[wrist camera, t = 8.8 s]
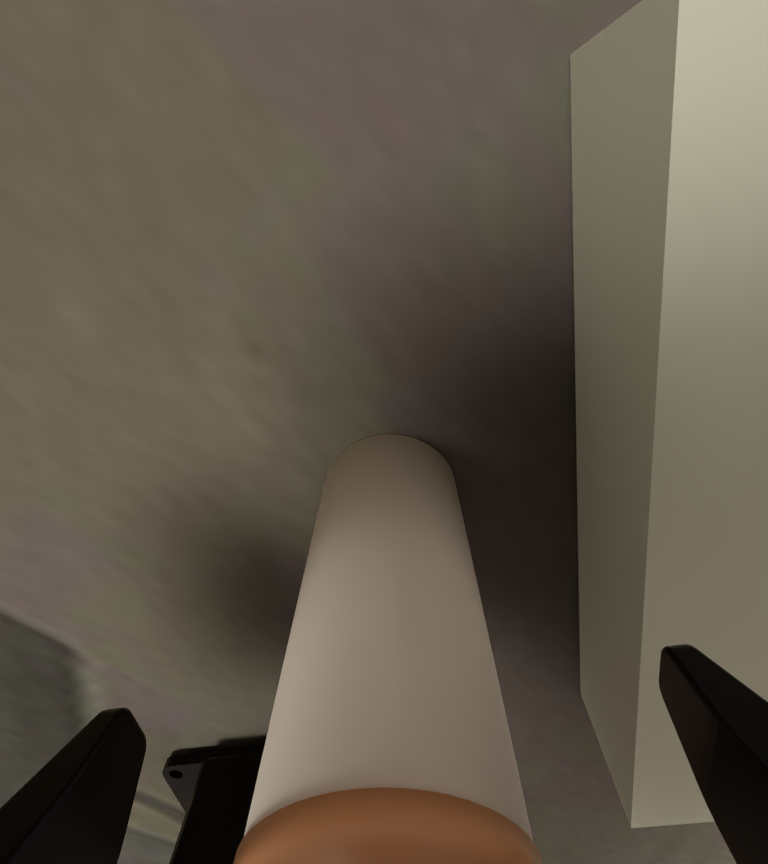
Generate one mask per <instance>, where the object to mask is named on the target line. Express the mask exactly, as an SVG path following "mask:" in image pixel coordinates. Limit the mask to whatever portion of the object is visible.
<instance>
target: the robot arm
mask: <svg viewBox="0 0 768 864" xmlns="http://www.w3.org/2000/svg"><path fill="white" fill-rule="evenodd" d="M659 688H660V692H661V695H662V698H663V700H664V703H665V705H666V708H667V710H668V713H669V715H670V718H671V720H672V722H673V725H674V727H675V730H676V732H677V735H678V737H679V740H680V742H681V744H682V747H683V749H684V752H685V754H686V757H687V759H688V762H689V764H690V767H691V769H692V771H693V774H694V776H695V779H696V781H697V784H698V786H699V788H700V791H701V793H702V795H703V798H704V800H705V802H706V805H707V807H708V809H709V811H710V813H711V815H712V817H713V819H714V821H715V823H716V825H717V827H718V829H719V830H720V832H721V834H722V836H723V838H724V840H725V842H726V844H727V846H728V848H729V850H730V852H731V854H732V855H733V857H734V859H735V861H736V863H737V864H768V702H767V701H766V700H765V699H763V698H762V697H761V696H759V695H758V694H757V693H755V692H754V691H753V690H751V689H750V688H749V687H747V686H746V685H745V684H743V683H742V682H741V681H739V680H738V679H737V678H735V677H734V676H733V675H731V674H730V673H729V672H727V671H726V670H725V669H723V668H722V667H721V666H719V665H718V664H717V663H715V662H714V661H713V660H711V659H710V658H709V657H707V656H706V655H705V654H703V653H702V652H701V651H699V650H698V649H697V648H695V647H693V646H691V645H689V644H680V645H672V646H665V647H664V648H663V649H662V651H661V657H660V670H659ZM263 750H264V746H258V747H248V748H239V749H229V750H219V751H209V752H199V753H190V754H180V755H173V756H170V757H169V758H168V759H167V761H166V764H165V767H164V769H163V772H162V774H163V776H164V778H165V780H166V781H167V783H168V784H169V786H170V788H171V789H172V791H173V793H174V794H175V796H176V797H177V799H178V801H179V802H180V804H181V806H182V807H183V809H184V810H185V812H186V815H185V818H184V821H183V824H182V827H181V830H180V833H179V836H178V839H177V842H176V845H175V848H174V851H173V854H172V857H171V860H170V863H169V864H233V862H234V858H235V855H236V851H237V848H238V846H239V845H240V843H241V841H242V839H243V838H244V833H245V829H246V825H247V820H248V816H249V812H250V807H251V803H252V798H253V794H254V790H255V785H256V781H257V776H258V772H259V768H260V763H261V759H262V755H263ZM145 751H146V738H145V735H144V733H143V731H142V730H141V728H140V726H139V725H138V723H137V721H136V720H135V718H134V716H133V715H132V713H131V712H130V710H129V709H127V708H116V709H108V710H104V711H102V712H100V713H99V714H98V715H97V716H96V717H95V718H94V719H92V720H91V721H90V722H89V723H88V724H87V725H86V726H85V727H84V728H83V729H82V730H81V731H80V732H79V733H78V734H77V735H76V736H75V737H74V738H73V739H72V740H71V741H70V742H69V743H68V744H67V745H66V746H65V747H63V748H62V749H61V750H60V751H59V752H58V753H57V754H56V755H55V756H54V757H53V758H52V759H51V760H50V761H49V762H48V763H47V764H46V765H45V766H44V767H43V768H42V769H41V770H40V771H39V772H38V773H37V774H36V775H34V776H33V777H32V778H31V779H30V780H29V781H28V782H27V783H26V784H25V785H24V786H23V787H22V788H21V789H20V790H19V791H18V792H17V793H16V794H15V795H14V796H13V797H12V798H11V799H10V800H9V801H8V802H6V803H5V804H4V805H3V806H2V807H1V808H0V864H117V861H118V858H119V855H120V852H121V848H122V844H123V841H124V837H125V833H126V829H127V825H128V821H129V817H130V813H131V809H132V805H133V801H134V797H135V793H136V788H137V784H138V780H139V776H140V772H141V768H142V764H143V760H144V756H145Z"/></svg>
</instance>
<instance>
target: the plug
mask: <svg viewBox="0 0 768 864" xmlns="http://www.w3.org/2000/svg"><path fill="white" fill-rule="evenodd" d="M233 864H543V862H542V858H541V855H540V853H539V850H538V848H537V846H536V845H535V843H534V841H533V837H532V832H531V828H530V823H529V819H528V814H527V809H526V805H525V800H524V796H523V791H522V786H521V782H520V777H519V773H518V768H517V763H516V759H515V754H514V750H513V745H512V740H511V736H510V731H509V727H508V722H507V718H506V713H505V708H504V704H503V699H502V695H501V690H500V685H499V681H498V676H497V672H496V667H495V662H494V658H493V653H492V649H491V644H490V639H489V635H488V630H487V626H486V621H485V616H484V612H483V607H482V603H481V598H480V594H479V589H478V584H477V580H476V575H475V571H474V566H473V561H472V557H471V552H470V548H469V543H468V538H467V534H466V529H465V525H464V520H463V515H462V511H461V506H460V502H459V497H458V492H457V488H456V483H455V479H454V475H453V473H452V470H451V468H450V466H449V465H448V463H447V462H446V460H445V459H444V458H443V456H442V455H441V454H439V453H438V452H437V451H436V450H435V449H434V448H432V447H431V446H429V445H428V444H426V443H424V442H422V441H420V440H417V439H415V438H411V437H408V436H403V435H394V434H385V435H377V436H372V437H368V438H365V439H362V440H360V441H358V442H356V443H354V444H352V445H350V446H349V447H347V448H346V449H345V450H344V451H342V452H341V453H340V454H339V455H338V456H337V458H336V459H335V460H334V461H333V463H332V464H331V466H330V468H329V470H328V472H327V475H326V479H325V483H324V487H323V491H322V496H321V500H320V505H319V509H318V513H317V518H316V522H315V527H314V531H313V535H312V540H311V544H310V548H309V553H308V557H307V562H306V566H305V570H304V575H303V579H302V584H301V588H300V592H299V597H298V601H297V605H296V610H295V614H294V619H293V623H292V627H291V632H290V636H289V641H288V645H287V649H286V654H285V658H284V662H283V667H282V671H281V676H280V680H279V684H278V689H277V693H276V698H275V702H274V706H273V711H272V715H271V719H270V724H269V728H268V733H267V737H266V741H265V746H264V750H263V755H262V759H261V763H260V768H259V772H258V776H257V781H256V785H255V790H254V794H253V798H252V803H251V807H250V812H249V816H248V820H247V825H246V829H245V833H244V838H243V839H242V841H241V843H240V845H239V846H238V848H237V851H236V855H235V858H234V862H233Z"/></svg>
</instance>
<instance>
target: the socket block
mask: <svg viewBox="0 0 768 864" xmlns="http://www.w3.org/2000/svg"><path fill="white" fill-rule="evenodd" d="M570 84H571V146H572V208H573V269H574V331H575V393H576V455H577V517H578V578H579V640H580V694H581V697H582V699H583V702H584V705H585V707H586V710H587V713H588V715H589V718H590V721H591V723H592V726H593V729H594V731H595V734H596V737H597V739H598V742H599V745H600V747H601V750H602V753H603V755H604V758H605V761H606V763H607V766H608V769H609V771H610V774H611V777H612V779H613V782H614V785H615V787H616V790H617V793H618V795H619V798H620V801H621V803H622V806H623V809H624V811H625V814H626V817H627V819H628V822H629V825H630V827H631V828H641V827H653V826H666V825H678V824H690V823H702V822H715V821H714V819H713V817H712V815H711V813H710V811H709V809H708V807H707V805H706V802H705V800H704V798H703V795H702V793H701V791H700V788H699V786H698V784H697V781H696V779H695V776H694V774H693V771H692V769H691V767H690V764H689V762H688V759H687V757H686V754H685V752H684V749H683V747H682V744H681V742H680V740H679V737H678V735H677V732H676V730H675V727H674V725H673V722H672V720H671V718H670V715H669V713H668V710H667V708H666V705H665V703H664V700H663V698H662V695H661V692H660V688H659V670H660V657H661V651H662V649H663V648H664V647H665V646H672V645H680V644H689V645H691V646H693V647H695V648H697V649H698V650H699V651H701V652H702V653H703V654H705V655H706V656H707V657H709V658H710V659H711V660H713V661H714V662H715V663H717V664H718V665H719V666H721V667H722V668H723V669H725V670H726V671H727V672H729V673H730V674H731V675H733V676H734V677H735V678H737V679H738V680H739V681H741V682H742V683H743V684H745V685H746V686H747V687H749V688H750V689H751V690H753V691H754V692H755V693H757V694H758V695H759V696H761V697H762V698H763V699H765V700H766V701H767V702H768V0H642V1H641V2H639V3H638V4H637V5H635V6H634V7H633V8H631V9H630V10H629V11H628V12H626V13H625V14H624V15H622V16H621V17H620V18H618V19H617V20H616V21H614V22H613V23H612V24H610V25H609V26H608V27H606V28H605V29H604V30H602V31H601V32H600V33H598V34H597V35H596V36H594V37H593V38H592V39H590V40H589V41H588V42H586V43H585V44H584V45H582V46H581V47H580V48H578V49H577V50H576V51H574V52H573V53H572V54H570Z"/></svg>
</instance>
